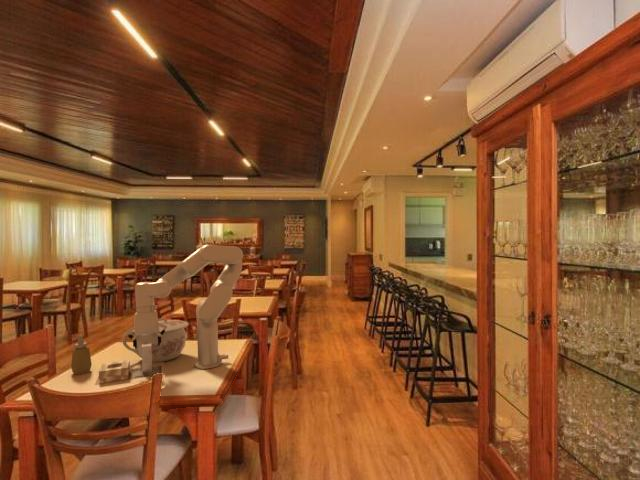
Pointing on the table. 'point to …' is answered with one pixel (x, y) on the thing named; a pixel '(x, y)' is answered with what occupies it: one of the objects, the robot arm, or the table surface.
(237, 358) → the table surface
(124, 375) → the socket board
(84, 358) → the squeeze bottle
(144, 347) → the steel peg
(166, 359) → the chamber pot
